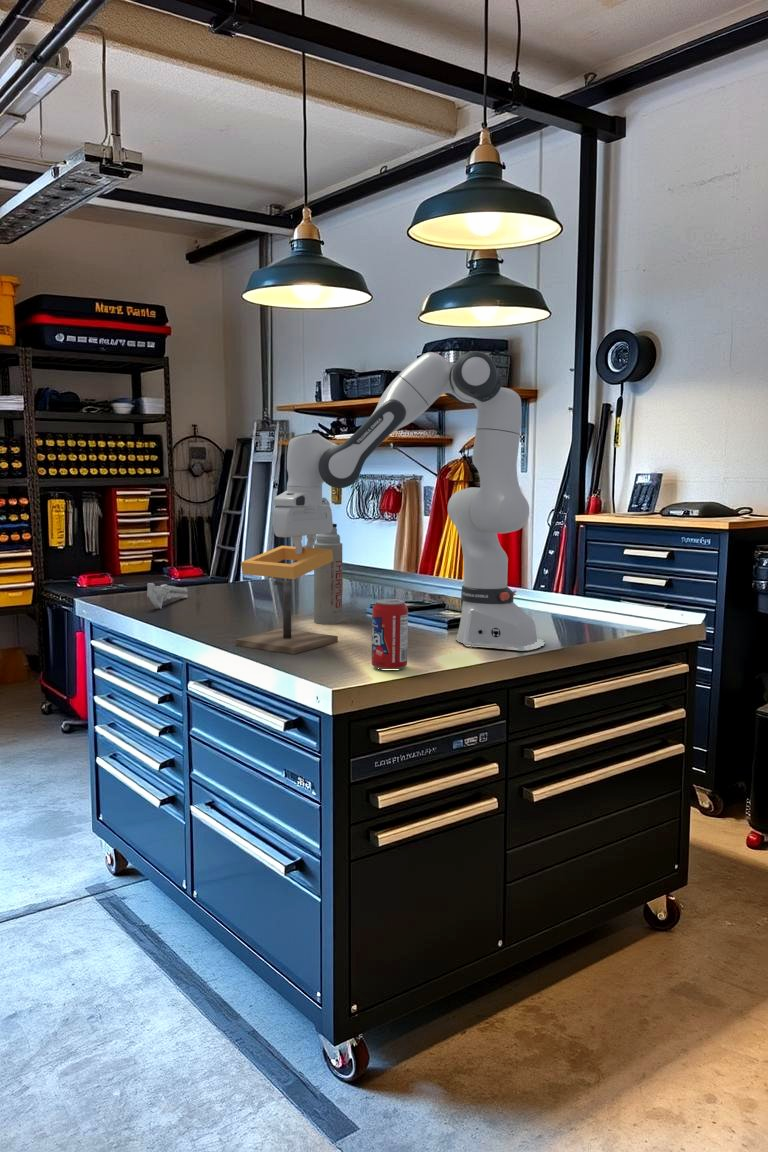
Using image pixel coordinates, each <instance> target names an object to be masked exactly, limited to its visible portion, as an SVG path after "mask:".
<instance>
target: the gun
mask: <svg viewBox="0 0 768 1152" xmlns="http://www.w3.org/2000/svg"><path fill="white" fill-rule="evenodd" d="M146 586H147V587H146V588H147V590H146V591H147V592H146V593H147V594H146V597H147V598H149V600H150V602H151V603H152V604H153V606H154V607H155V609H156V610H159V609H161V610H162V609H163V608H162V607H163V602H164V601H167V600H171V599H172V598H180V599H184V600H185V598H186V599H188V595H189V594H188V593H189V592H188V591H189V590H188V587H179V586H176V585H168V584H167V583H166V584H161V585H155V583H153V582H151V583H150V582H149V583H147V585H146Z"/></svg>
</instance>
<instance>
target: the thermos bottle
mask: <svg viewBox="0 0 768 1152" xmlns="http://www.w3.org/2000/svg"><path fill="white" fill-rule="evenodd" d="M337 526H338V525H337V523H333V529H332V532H331V533H326V534H316V541H315V543H314V546H313V548H320V549H332V553H333V561H332V562H330V563H328V564H326V565H324V566H321V567H319V568H317V569H315V570H313V623H315V624H319V625H337V624H341V623H342V622H343V543H341V536H340V534H339V533H338V528H337Z"/></svg>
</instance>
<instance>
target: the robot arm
mask: <svg viewBox="0 0 768 1152" xmlns="http://www.w3.org/2000/svg"><path fill="white" fill-rule="evenodd" d="M502 385H503V382H502V380H501V377H500V375H499V373H498V368H497V366H496V365H495V362H494V361H493V359H492V358H491V357H490V356H489V355H488V354H486V353H484V352H482V351H469V352H466V353H464V354H462V355H461V356H460V357H459V358H458V359H457V360H456V362H450V361H448V360H446V358H444V356H442V355H441V354H438V353H437V352H432V351H428V352H426V353H423V354H422V355H421V356H419V357H417V358H416V359H415V360H414V361H412V362H411V363H409V364H408V365H407V366H406V367H405V368H404V369H403V370H401V372H400V373H399V374H397V375H396V377H395V378H394V379H392V381H391V382H390V383H389V385H388V386H387V387H386V388H385V390H384V391H383V393H382V395H381V396H380V398H379V400H378V403H377V405H376V407H375V408H374V411H373V413H372V414H371V415H370V417H369V418H368V419H367V420H366V421H365V422H364V423H363V424H362V425H361V426H360V427H359V428H358V429H357V430H356V431H355V432H354V433H353V434H352V435H351V436H350V437H349V438H348V439H347V440H345V441H343V442H342V443H339V444H337V443H334V442H332V441H330V440H328V439H327V438H325V437H323V436H322V435H321V434H320V433H318V432H306V433H301V434H296V435H295V436H292V438H291V439H290V440H289V442H288V446H287V452H286V453H287V454H286V471H287V475H288V479H287V483H286V490H285V491H283V492H282V493H280V494H278V495H276V496H275V497H273V506H275V508H274V510H273V520H272V521H273V527H272V528H273V534H274V535H275V536H276V537H278V538H291V539H292V543H293V545H294V547H295V552H296V554H303V553H304V552H305V551H304V549H305V547H307V548H314V543H316V542H317V539H316V538H317V535H318V534H326V533H331V532H332V529H333V524H334V521H333V512H332V508H331V504H330V501H329V500H328V499H327V497H323V484H324V483H325V484H326V485H328V486H329V487H332V488H335V489H345V488H348V487H350V486H352V485H353V484H354V483H355V482H356V481H357V480H358V479H359V477H360V475H361V472H362V469H363V466H364V463H365V462H366V460H367V459H368V458H369V457H370V455H372V453H374V452H375V450H376V449H377V448H378V447H379V446H380V445H382V443H384V442H385V440H386V439H387V438H388V437H389V436H391V434H393V433H394V432H396V431H397V430H400V429H402V428H404V427H406V426H408V425H409V424H411V423H413V422H414V421H415V420H417V419H418V418H419V417H420V416H421V415H423V413H425V412H426V411H427V410H428V409H429V408H430V407H431V406H432V405H433V404H434V403H435V402H436V400H438V399H439V398H440V397H441V396H443V395H445V396H447V397H449V398H451V399H453V400H455V401H456V402H458V403H461V404H463V405H475V407H476V409H477V421H476V429H475V436H474V443H473V451H472V457H471V460H472V464H473V466H474V467H475V468H476V469H477V472H478V476H479V483H480V485H479V486H480V487H478V486H477V487H472V486H471V487H467V488H462V489H460V490H457V491H456V492H453V494H452V495H451V497H450V498H449V500H448V502H447V514H448V518H449V519H450V521H451V522H452V523H453V525H454V526H455V528H456V531H457V533H458V537H459V542H460V543H461V544H460V546H461V549H462V555H463V556H462V557H463V559H462V560H463V585H461V591H460V592H461V593H460V596H461V597H460V599H461V600H460V602H461V614H460V620H459V626H458V632H457V635H456V638H455V641H456V640H457V641H459V642H461V643H463V644H464V645H471V646H472V645H473V646H497V647H514V648H519V647H520V648H521V647H522V646H527V645H531V644H534V643H535V642H537V627H536V624H535V621H534V619H533V618H532V617H531V616H530V615H528V613H526V612H525V611H524V610H523V609H522V608H521V607H520V606H518V605H517V604H516V603H515V602H514V596H517V594H516V593H517V590H511V588H510V587H509V586H508V570H509V569H508V568H509V567H508V565H509V564H508V563H509V557H508V555H507V553H506V551H505V550H504V549H503V547H502V546H501V543H500V540H499V538H498V534H508V533H513V532H516V531H519V530H521V529H523V527H525V526H526V525H527V523H528V519H529V517H530V505H529V502H528V500H527V498H526V497H525V496H524V494H523V492H522V491H521V487H520V483H519V477H518V472H517V471H518V469H517V468H518V467H517V465H518V463H517V462H518V456H519V455H518V453H519V447H520V438H521V431H522V430H521V429H522V420H523V419H522V416H523V415H522V413H523V412H522V398H521V397H520V395H519V394H518V393H517V392H516V391H515V390H513V389H512V388H508V387H504V386H502ZM304 536H306V540H307V542H306V545H304V546H303V544H302V540H303V537H304ZM457 641H456V642H457ZM459 642H458V643H459ZM461 643H460V644H461ZM463 644H462V645H463Z"/></svg>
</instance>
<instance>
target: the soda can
mask: <svg viewBox="0 0 768 1152" xmlns="http://www.w3.org/2000/svg"><path fill="white" fill-rule="evenodd" d="M405 603H406V601H405V600H403V599H396V598H382V599H377V600H375V603H374V605H373V606H372V608H371V609H372V610H371V665H372V666H373V667H374V668H376V669H377V668H379V669H400V668H402V669H404V668H406V667H407V665H408V640H409V639H408V637H409V636H408V634H409V632H408V629H409V627H408V626H409V609H408V606H407V605H406V604H405ZM379 669H378V670H379ZM400 670H401V669H400Z"/></svg>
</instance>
